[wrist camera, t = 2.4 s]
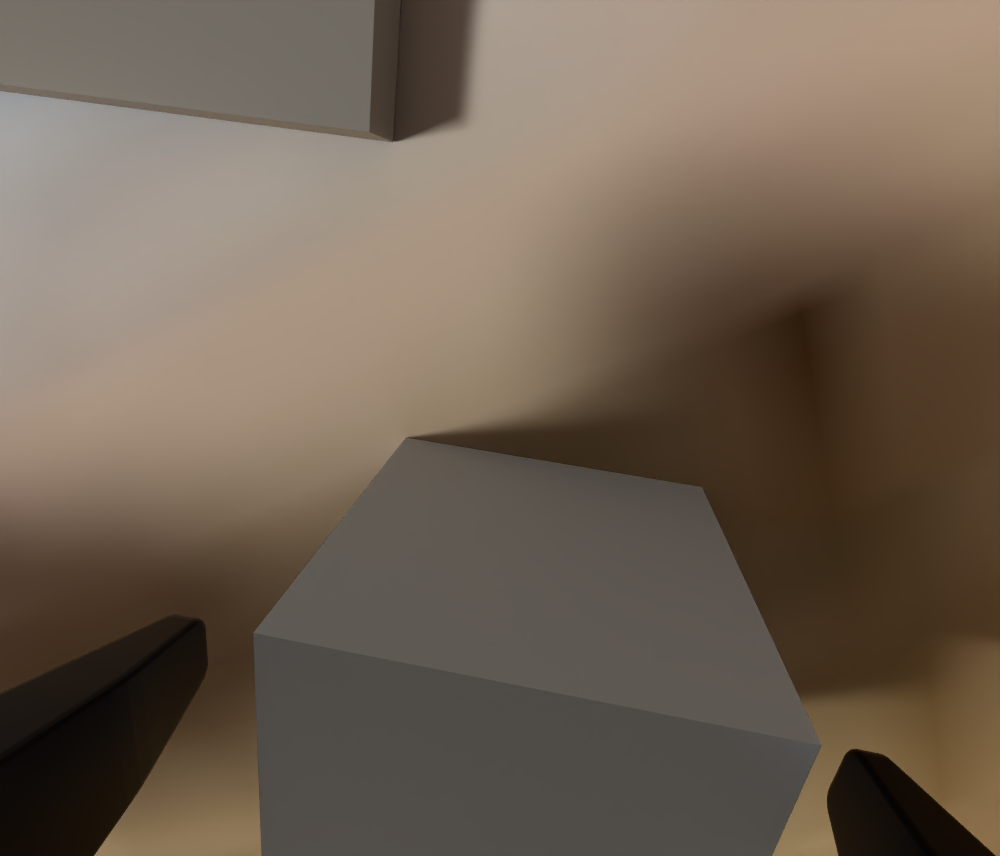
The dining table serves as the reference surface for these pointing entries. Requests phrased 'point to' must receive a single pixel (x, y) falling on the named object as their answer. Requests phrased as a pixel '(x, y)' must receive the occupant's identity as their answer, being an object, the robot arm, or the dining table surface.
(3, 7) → the tower base
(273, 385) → the dining table surface
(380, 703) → the slate-gray cube
